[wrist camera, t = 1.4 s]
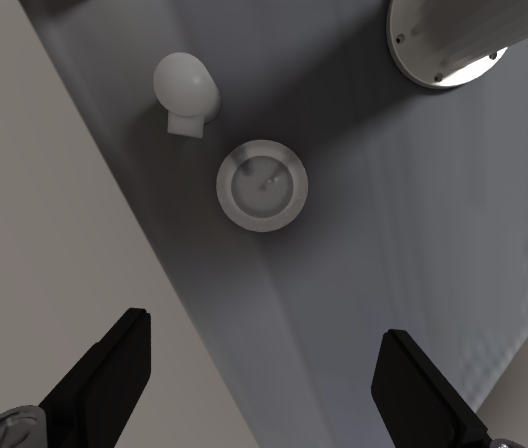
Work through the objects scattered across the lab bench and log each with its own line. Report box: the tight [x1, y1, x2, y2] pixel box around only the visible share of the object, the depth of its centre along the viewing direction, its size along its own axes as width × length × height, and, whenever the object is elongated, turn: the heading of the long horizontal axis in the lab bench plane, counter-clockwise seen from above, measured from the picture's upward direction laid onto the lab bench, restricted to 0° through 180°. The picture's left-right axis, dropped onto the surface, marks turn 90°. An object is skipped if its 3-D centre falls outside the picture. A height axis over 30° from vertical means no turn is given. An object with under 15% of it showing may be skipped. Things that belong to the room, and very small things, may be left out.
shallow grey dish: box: [216, 140, 308, 232], centre depth 29 cm, size 10×10×2 cm
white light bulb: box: [153, 53, 221, 138], centre depth 25 cm, size 6×5×6 cm
